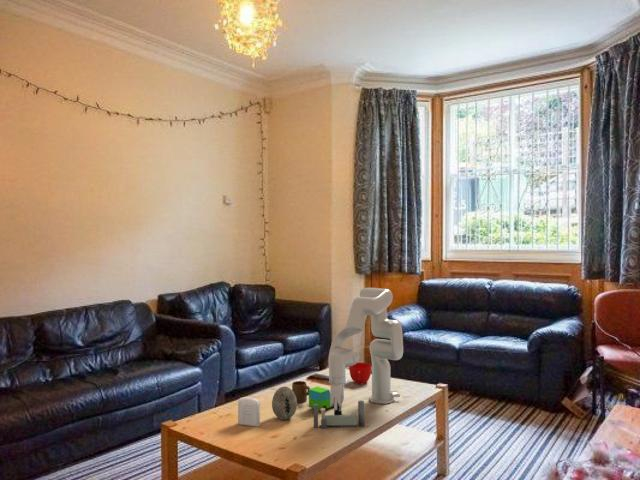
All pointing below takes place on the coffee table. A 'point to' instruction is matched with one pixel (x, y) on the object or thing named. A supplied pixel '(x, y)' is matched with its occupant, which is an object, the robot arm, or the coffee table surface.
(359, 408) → the gate posts
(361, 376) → the ceramic cup
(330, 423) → the gate
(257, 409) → the photo printer
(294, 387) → the mug
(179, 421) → the coffee table surface
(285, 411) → the decorative egg
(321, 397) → the green toy car
